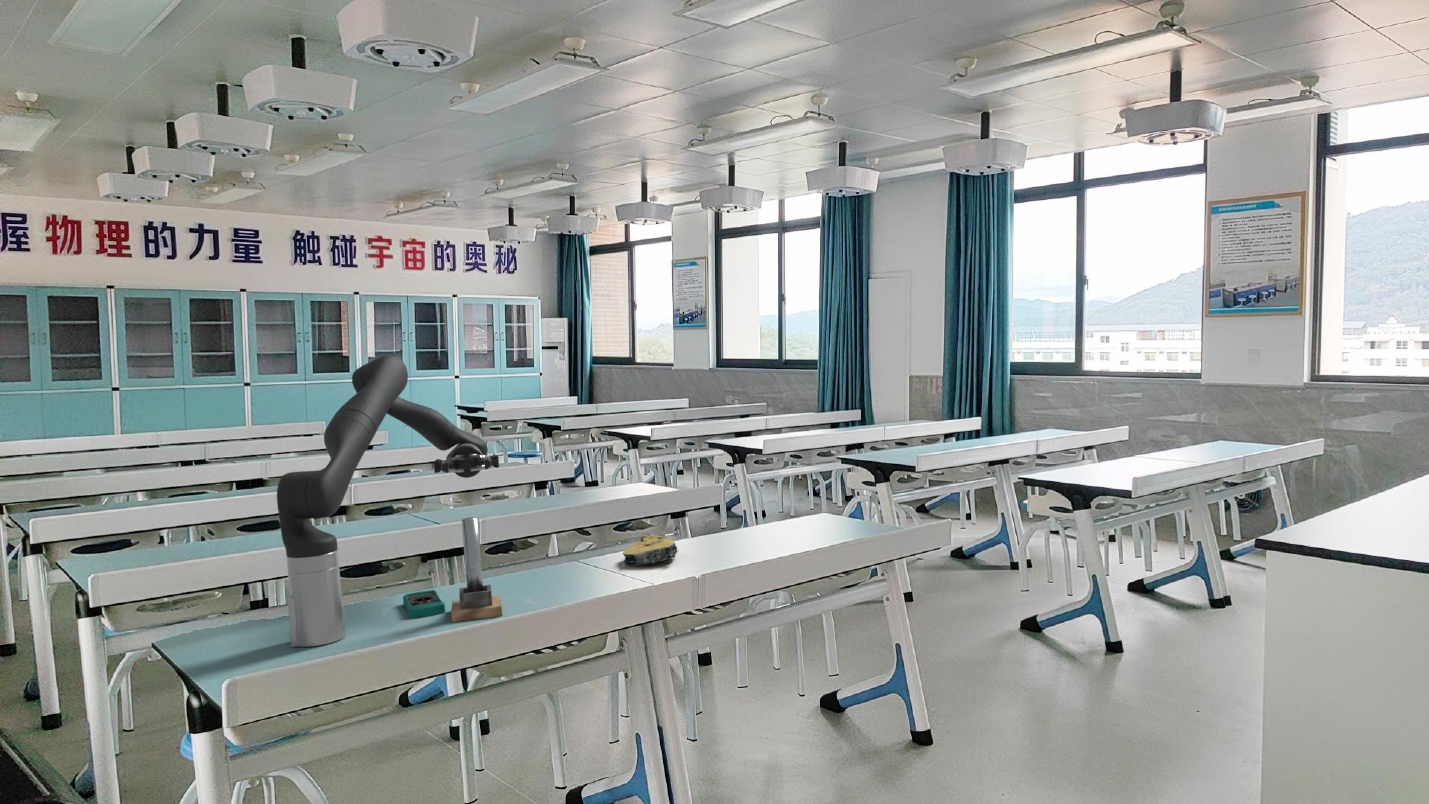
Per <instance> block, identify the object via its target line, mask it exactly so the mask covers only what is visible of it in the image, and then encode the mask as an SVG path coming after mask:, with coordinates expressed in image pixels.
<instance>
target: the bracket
mask: <svg viewBox="0 0 1429 804" xmlns="http://www.w3.org/2000/svg"><path fill="white" fill-rule="evenodd" d="M458 592H459V600H452V601H451V608H450V609H451V612H450V613H451V614H450V615H451V622H452V623H455V622H456V623H457V622H464V621H472V620H481V619H487V618H495V617H503V610H502V609H503V607H502V600H501V599H502V598H501V595H492V594H493V593H492V585H491V584H485V585H484V584H483V591H480V592H472V593H467V586H466V587H460V588H459V591H458Z"/></svg>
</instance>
